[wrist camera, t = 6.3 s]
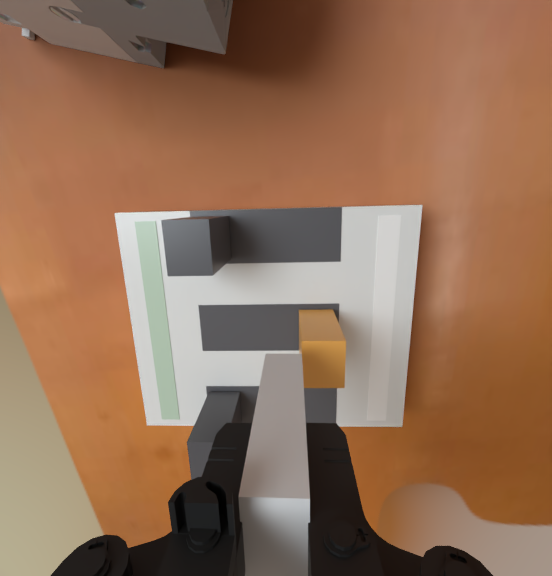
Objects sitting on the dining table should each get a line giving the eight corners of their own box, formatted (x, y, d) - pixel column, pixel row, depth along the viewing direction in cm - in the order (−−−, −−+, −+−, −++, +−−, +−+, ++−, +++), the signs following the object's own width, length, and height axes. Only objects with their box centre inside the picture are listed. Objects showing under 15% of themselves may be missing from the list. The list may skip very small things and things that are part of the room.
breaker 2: (239, 392, 20) (226, 442, 16) (241, 424, 21) (229, 481, 16) (208, 392, 20) (187, 442, 16) (211, 423, 21) (191, 480, 16)
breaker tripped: (332, 309, 18) (346, 340, 14) (332, 346, 19) (344, 388, 15) (298, 309, 18) (301, 341, 14) (298, 347, 19) (301, 388, 15)
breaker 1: (228, 215, 17) (208, 219, 13) (231, 258, 18) (213, 275, 13) (192, 216, 17) (161, 220, 13) (196, 259, 18) (167, 276, 14)
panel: (402, 205, 20) (422, 204, 17) (388, 399, 23) (402, 427, 20) (139, 211, 20) (114, 212, 17) (164, 398, 24) (147, 425, 21)
